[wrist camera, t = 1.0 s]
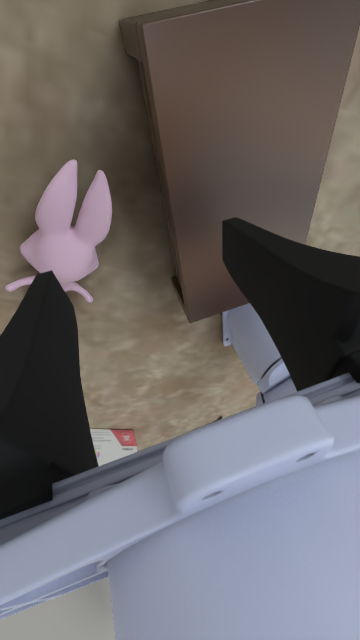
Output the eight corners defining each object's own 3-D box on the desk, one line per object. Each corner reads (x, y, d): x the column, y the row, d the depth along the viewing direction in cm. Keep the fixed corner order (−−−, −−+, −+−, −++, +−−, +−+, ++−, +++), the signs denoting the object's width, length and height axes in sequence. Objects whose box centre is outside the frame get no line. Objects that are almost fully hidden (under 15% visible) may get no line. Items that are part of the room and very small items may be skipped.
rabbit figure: (78, 312, 28) (137, 171, 18) (80, 366, 24) (153, 231, 15) (3, 303, 24) (24, 124, 15) (-5, 364, 21) (15, 188, 11)
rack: (266, 257, 29) (294, 288, 25) (172, 287, 27) (189, 323, 24) (302, -20, 15) (373, -27, 12) (118, 19, 14) (140, 23, 11)
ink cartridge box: (134, 428, 48) (156, 530, 39) (119, 442, 50) (136, 542, 41) (87, 427, 43) (99, 546, 33) (72, 443, 45) (80, 558, 35)
